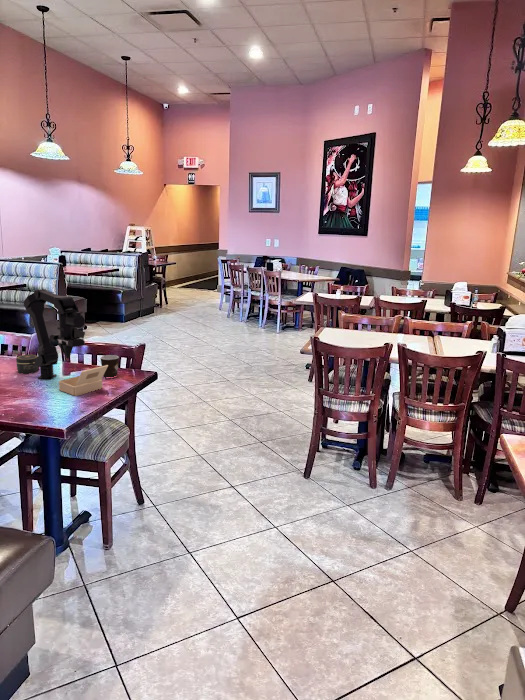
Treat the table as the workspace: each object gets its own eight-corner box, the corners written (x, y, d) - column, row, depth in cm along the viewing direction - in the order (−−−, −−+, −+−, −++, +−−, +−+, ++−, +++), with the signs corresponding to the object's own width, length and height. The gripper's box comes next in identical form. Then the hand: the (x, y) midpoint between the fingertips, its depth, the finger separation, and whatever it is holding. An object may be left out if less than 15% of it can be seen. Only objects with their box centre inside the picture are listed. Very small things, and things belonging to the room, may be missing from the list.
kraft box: (58, 390, 224) (57, 381, 223) (86, 382, 236) (86, 374, 235) (74, 396, 217) (74, 387, 216) (103, 388, 229) (103, 379, 228)
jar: (16, 369, 251) (15, 355, 249) (38, 368, 255) (37, 353, 254) (17, 375, 242) (16, 360, 240) (40, 373, 247) (38, 358, 245)
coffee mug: (108, 380, 240) (107, 360, 238) (97, 376, 245) (96, 357, 243) (128, 375, 249) (127, 356, 247) (117, 372, 254) (116, 353, 252)
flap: (75, 385, 216) (81, 371, 212) (100, 378, 227) (107, 364, 222) (76, 386, 216) (82, 372, 212) (101, 379, 227) (108, 365, 222)
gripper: (94, 325, 225) (95, 358, 229) (69, 319, 236) (71, 351, 240) (72, 328, 217) (74, 363, 220) (47, 322, 227) (50, 355, 231)
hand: (67, 358), depth 228 cm, fingers closed
